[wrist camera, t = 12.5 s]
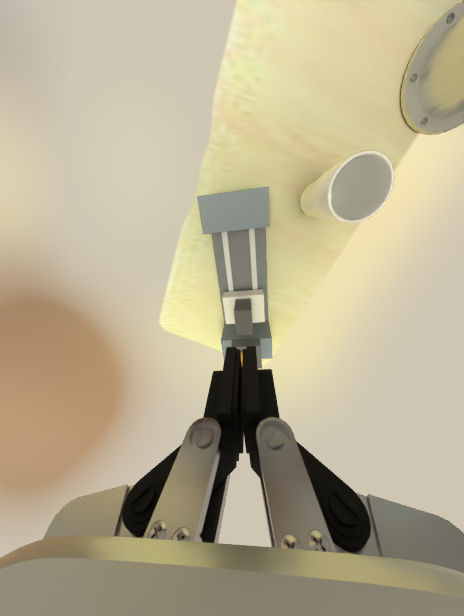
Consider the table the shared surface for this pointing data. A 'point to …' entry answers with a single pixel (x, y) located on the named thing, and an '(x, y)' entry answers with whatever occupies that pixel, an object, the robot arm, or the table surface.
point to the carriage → (244, 309)
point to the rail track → (240, 256)
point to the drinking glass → (350, 189)
